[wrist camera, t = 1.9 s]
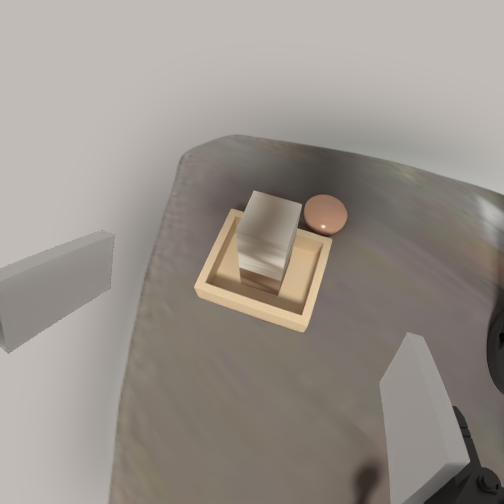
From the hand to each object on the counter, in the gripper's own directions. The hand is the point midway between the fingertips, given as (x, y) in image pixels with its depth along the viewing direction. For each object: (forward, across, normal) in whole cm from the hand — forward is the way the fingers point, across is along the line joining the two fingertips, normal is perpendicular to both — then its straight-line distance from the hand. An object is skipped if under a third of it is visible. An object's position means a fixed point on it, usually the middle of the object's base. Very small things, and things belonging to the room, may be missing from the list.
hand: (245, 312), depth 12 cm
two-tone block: (+27, -2, -9) cm, 29 cm away
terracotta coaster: (+36, +3, -1) cm, 36 cm away
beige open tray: (+28, -2, -9) cm, 29 cm away
